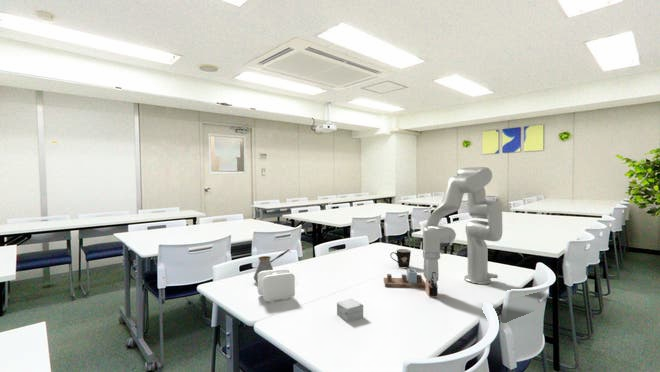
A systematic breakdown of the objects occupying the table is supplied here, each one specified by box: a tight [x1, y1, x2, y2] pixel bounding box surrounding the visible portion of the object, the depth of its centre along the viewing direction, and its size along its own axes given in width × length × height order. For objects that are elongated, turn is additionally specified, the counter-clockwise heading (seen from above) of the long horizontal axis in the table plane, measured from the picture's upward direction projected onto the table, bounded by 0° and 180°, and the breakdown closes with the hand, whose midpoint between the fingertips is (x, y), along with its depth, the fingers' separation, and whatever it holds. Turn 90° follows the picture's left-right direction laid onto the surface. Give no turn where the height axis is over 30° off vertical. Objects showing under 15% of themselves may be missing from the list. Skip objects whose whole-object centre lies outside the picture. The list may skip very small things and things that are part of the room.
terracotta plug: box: [425, 279, 439, 298], centre depth 144 cm, size 4×6×6 cm, turn 175°
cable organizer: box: [257, 267, 296, 303], centre depth 142 cm, size 15×11×12 cm
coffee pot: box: [253, 249, 292, 282], centre depth 166 cm, size 21×12×15 cm, turn 128°
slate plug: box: [406, 268, 418, 284], centre depth 158 cm, size 4×6×6 cm, turn 174°
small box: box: [336, 298, 364, 322], centre depth 122 cm, size 8×8×5 cm
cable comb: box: [383, 273, 426, 289], centre depth 158 cm, size 20×10×4 cm, turn 85°
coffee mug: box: [389, 248, 412, 268], centre depth 191 cm, size 12×9×10 cm
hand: (431, 292), depth 144 cm, fingers closed on terracotta plug, 6 cm apart
